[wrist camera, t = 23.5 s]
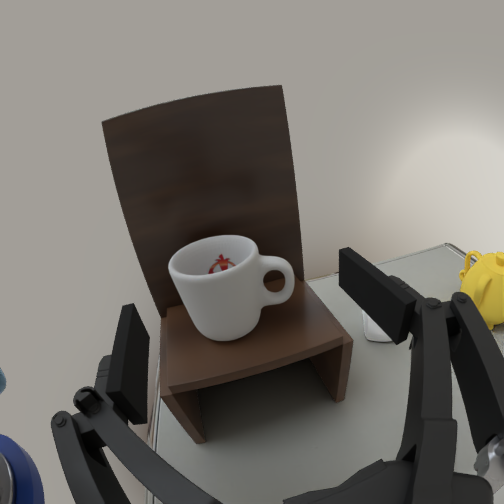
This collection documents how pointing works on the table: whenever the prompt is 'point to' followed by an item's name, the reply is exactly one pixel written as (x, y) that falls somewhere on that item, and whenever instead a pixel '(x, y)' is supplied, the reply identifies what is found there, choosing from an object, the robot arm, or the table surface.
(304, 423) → the table surface
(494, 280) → the teapot
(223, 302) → the cup
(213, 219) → the wooden chair
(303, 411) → the table surface
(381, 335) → the computer mouse
